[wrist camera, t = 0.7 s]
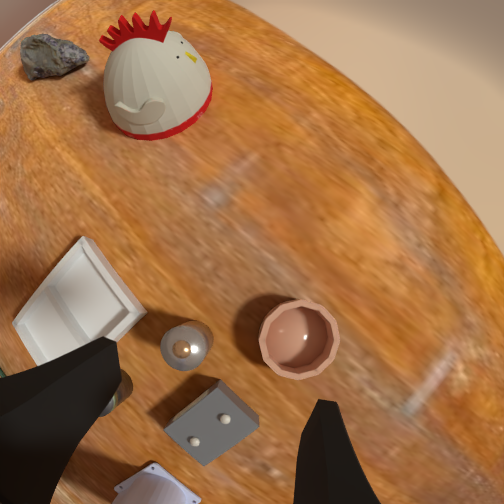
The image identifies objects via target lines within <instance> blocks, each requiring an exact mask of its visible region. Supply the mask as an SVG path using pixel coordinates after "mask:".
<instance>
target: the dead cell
mask: <svg viewBox="0 0 504 504" xmlns="http://www.w3.org/2000/svg"><path fill="white" fill-rule="evenodd" d="M212 345H213V334H212V332H211V330H210V328H209V327H208V326H207V325H206V324H204V323H202V322H200V321H188V322H186V323H183V324H181V325H179V326H176V327H174V328H172V329H170V330H169V331H167V332H166V333H165V335H164V336H163V338H162V340H161V346H160V348H161V354H162V356H163V358H164V360H165V361H166V363H167V364H168V365H170V366H171V367H172V368H174V369H177V370H180V371H189V370H192V369H194V368H196V367H197V366H199V365H200V364H201V362H202V361H203V359H204V358H205V357H206V355H207V354H208V352H209V351H210V350H211V348H212Z"/></svg>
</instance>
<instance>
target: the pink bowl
mask: <svg viewBox="0 0 504 504" xmlns="http://www.w3.org/2000/svg"><path fill="white" fill-rule="evenodd" d="M258 339H259V345H260V349H261V352H262V357H263V360H264V362H265V363H266V364H267V365H268V366H269V367H270V368H271V369H272V370H273V371H274V372H275V373H276V374H277V375H279V376H283V377H287V378H291V379H295V380H301V379H304V378H308V377H312V376H315V375H318V374H320V373H321V372H322V371H323V370H324V369H325V368H326V367H327V366H328V365H329V364H330V363H331V362H332V361H333V360H334V358H335V355H336V352H337V349H338V346H339V343H340V336H339V332H338V327H337V322H336V320H335V319H334V317H333V316H332V315H331V314H330V313H329V312H328V311H327V310H326V309H325V308H324V307H323V306H322V305H319V304H316V303H312V302H309V301H305V300H301V299H296V300H290V301H286V302H283V303H280V304H278V305H277V306H275V307H274V308H273V309H271V310H270V311H269V312H268V313H267V315H266V316H265V317H264V319H263V321H262V323H261V326H260V330H259V335H258Z"/></svg>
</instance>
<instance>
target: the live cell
mask: <svg viewBox="0 0 504 504" xmlns="http://www.w3.org/2000/svg"><path fill="white" fill-rule="evenodd" d="M120 371H121V376H122V381H121V383H120V385H119V387H118V389H117V390H116V392H115V394H114V396H113V397H112V399H111V401H110V402H109V404H108V405H107V406H106V408H105V409H104V410H103V412H102V413H101V414H100V416H99V417H102V416H105V415H107V414H109V413H110V412H111V411H112V410H114V409H115V408H116V407H117V406H118V405H119V404H121V403H122V402H123V401H124V400H126V399H127V398H128V397H129V396H130V395H131V393H132V391H133V383H132V380H131V378H130V376H129V375H128V374H127V373H126V372H125V371H124V370H122V369H120Z"/></svg>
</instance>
